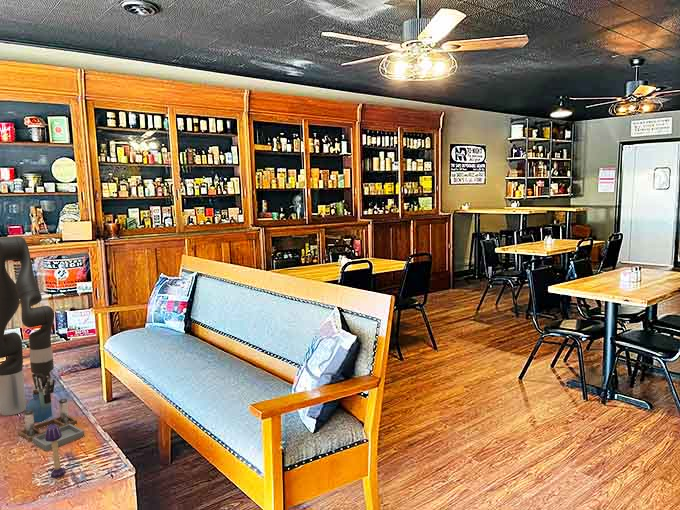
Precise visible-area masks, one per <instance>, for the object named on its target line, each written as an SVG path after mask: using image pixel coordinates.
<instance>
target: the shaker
mask: <svg viewBox="0 0 680 510" xmlns="http://www.w3.org/2000/svg"><path fill="white" fill-rule="evenodd" d="M45 390H46V389H45ZM39 399H40V407H41V408H46V407H49V406H51V407H52V401H51V402H50V403H48V404H45V403H44V394H43V389H41V387H40V388H39Z"/></svg>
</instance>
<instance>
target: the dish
mask: <svg viewBox="0 0 680 510" xmlns="http://www.w3.org/2000/svg"><path fill="white" fill-rule="evenodd" d="M59 430H60V432H61V434H62V437H61V438H60V439H58V440H57V443H58V448H59V447H61V446H64V445H67V444H69V443H71V441H72V442H73V440H74V441H77V440H79V439H81V437H82V438H84V437H85V431H84V430H83V429H82V428H79V427H78V426H76V425H72V424H67V425H65V426H62V427H59ZM83 436H84V437H83ZM45 437H46V433H43V434H41V435H38V436H35V437H33V438H32V440H33V441H32V444H33V443H34V444H33V445H35V446H36V447H39V448H40V449H41V450H43V451H45V452H49V451H52V443H51V442H48V441H46V440H45ZM78 438H79V439H78ZM76 439H77V440H76ZM66 443H67V444H66Z"/></svg>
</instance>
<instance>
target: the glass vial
mask: <svg viewBox="0 0 680 510" xmlns="http://www.w3.org/2000/svg"><path fill="white" fill-rule="evenodd" d="M23 414H24V415H23V416H24V422H25V423H24V424H25V429H26V435H27V436H29V437H31V436H34V435H36V433H35V422H34V416H33V410H27V411H26V410H25V411H23Z"/></svg>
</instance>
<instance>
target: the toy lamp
mask: <svg viewBox="0 0 680 510" xmlns="http://www.w3.org/2000/svg"><path fill="white" fill-rule="evenodd" d="M45 431H46V437H45V440H46V441H48V442H51V443H52V450H51V451H52V456H53V457H52V458H53V465H54V469H52V471H51V473H50V477H51V478H53V479H54V478H56V479H57V478H61V477H63V476H64V475H66V473H67V471H66V469H65V468H64V467H62V466H61V460H60V452H59V447H58V443H57V440H58V439H60V438H61V437H62V434H61V432H60V430H59V427H58V425H56V424H51V425H48V426H46V430H45Z"/></svg>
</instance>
